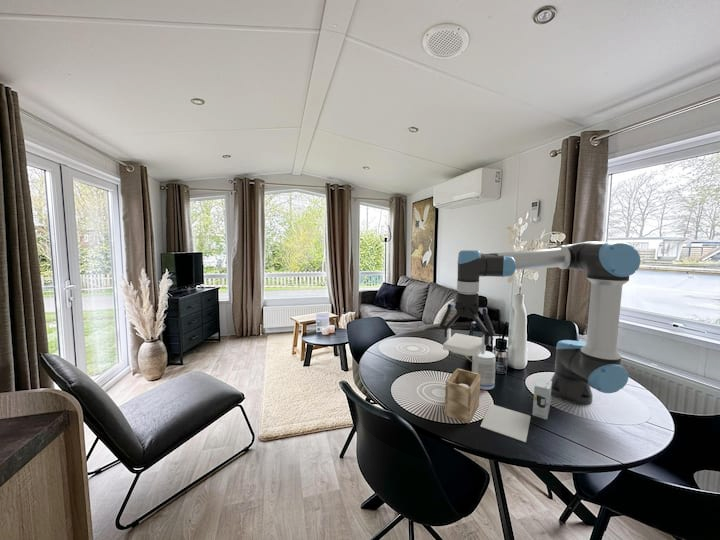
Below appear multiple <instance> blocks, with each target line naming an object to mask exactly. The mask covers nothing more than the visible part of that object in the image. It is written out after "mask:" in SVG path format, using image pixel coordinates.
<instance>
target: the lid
mask: <svg viewBox="0 0 720 540" xmlns="http://www.w3.org/2000/svg"><path fill="white" fill-rule="evenodd" d="M442 350H445V351H449V352H451V353H453V354H458V355H462V356H466V357H471V356H476V357H478V355H479V354H480V353H481V351H482V337H479V336H474V335H470V334H469V335H468V334H463V333H459V332H458V333H457V332H455V333H454V334H453V335H451V338H449V339H448V340H447V339H446V341H445V342H444V343H443V344H442Z"/></svg>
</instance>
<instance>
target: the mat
mask: <svg viewBox="0 0 720 540" xmlns="http://www.w3.org/2000/svg"><path fill="white" fill-rule="evenodd" d="M531 417H532V416H531V415H529V414H527V413H526V414H525V413H523V412H519V411H516V410H512V409H508V408H507V407H503V406H499V405H497V404H494V403H493V404H492V403H490V404H489V406H488V408H487V410H486V412H485V415H484V417H483V419H482V421H481V424H480V428H483V429H486V430H489V431H491V432H494V433H497V434H500V435H502V436H506V437H508V438H511V439H514V440H517V441H520V442H523V443H525V444H526V443H527V439H528V438H527V437H528V434H529V428H530V423H531Z"/></svg>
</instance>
